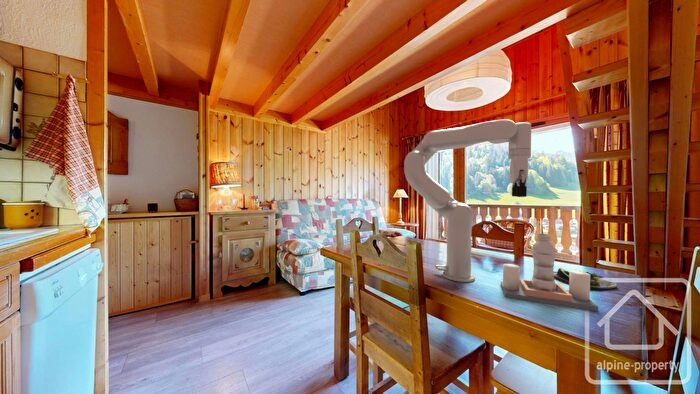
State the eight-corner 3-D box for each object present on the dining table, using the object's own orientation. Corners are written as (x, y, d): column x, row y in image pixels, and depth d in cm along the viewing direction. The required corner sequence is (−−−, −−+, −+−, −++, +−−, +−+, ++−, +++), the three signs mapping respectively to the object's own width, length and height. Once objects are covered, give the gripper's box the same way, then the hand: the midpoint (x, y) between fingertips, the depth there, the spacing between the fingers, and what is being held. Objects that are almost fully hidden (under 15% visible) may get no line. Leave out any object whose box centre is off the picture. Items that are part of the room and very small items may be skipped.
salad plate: (581, 274, 110) (581, 263, 110) (632, 289, 92) (632, 277, 92) (543, 275, 108) (543, 265, 108) (587, 292, 90) (587, 279, 90)
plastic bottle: (548, 297, 81) (549, 236, 80) (526, 290, 87) (527, 233, 87) (560, 294, 83) (561, 235, 83) (538, 287, 90) (539, 232, 89)
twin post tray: (505, 297, 85) (505, 269, 85) (500, 285, 96) (500, 260, 96) (598, 311, 75) (598, 280, 75) (581, 296, 86) (581, 269, 86)
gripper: (505, 157, 109) (504, 196, 110) (512, 151, 94) (511, 196, 94) (525, 156, 106) (525, 196, 107) (536, 150, 91) (535, 197, 91)
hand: (518, 196), depth 100 cm, fingers open, 9 cm apart
